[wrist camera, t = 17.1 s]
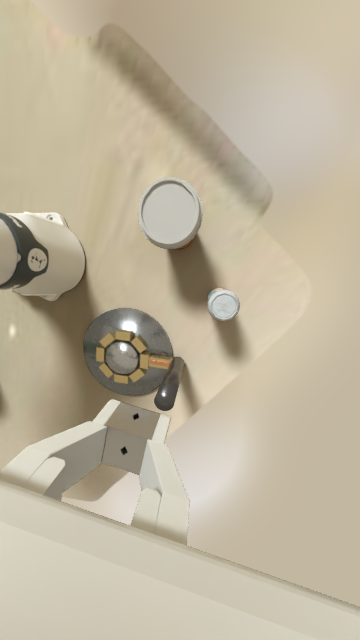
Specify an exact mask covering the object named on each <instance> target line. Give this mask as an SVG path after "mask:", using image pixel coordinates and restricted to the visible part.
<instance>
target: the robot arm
mask: <svg viewBox="0 0 360 640" xmlns="http://www.w3.org/2000/svg"><path fill="white" fill-rule="evenodd" d="M52 218H53V220H52ZM84 269H85V256H84V252H83V249H82V246H81V244H80V242H79V241H78V239H77V238H76V236H75V235H74V234H73V233H72V232H71V231H70V230H69V228H68V227H67V224H66V222H65V220H64V218H63V216H62V215H60V214H57V213H29V212H24V213H4V212H1V211H0V289H1V290H4V289H12V291H13V292H15V293H21V295H25V296H31V295H38V296H40V297H42V298H44V299H46V300H48V301H55V300H57V299H58V298H59V297H60V295H61V294H62V293H64V292H66V291H68V290H70V289H72V288H74V287H75V286H76V285H77V284H78V283H79V281H80V280H81V278H82V276H83V273H84ZM170 420H171V416H168V415H164V414H159V413H156V412H153V411H149V410H146V409H142V408H139V407H136V406H133V405H130V404H127V403H124V402H121V401H117V400H114V399H111V400H109V402H108V403H107V404H106V405H105V407H104V408H103V409H102V410H101V411H100V413H99V414H98V415H97V416H96V418H95V419H94V420H93V421H92V422H91V421H87V422H85V423H83V424H80V425H78V426H75V427H73V428H71V429H68V430H66V431H63V432H61V433H58V434H56V435H54V436H51V437H49V438H46V439H44V440H42V441H39V442H37V443H34V444H32V445H29V446H27V447H26V448H25V449H24V450H23V451H22V452H21V453H20V454H18V455H17V456H16V457H15V458H14V459H13V460H12V461H11V462H10V463H9V464H8V465H6V466H5V467H4V468H3V469H2V470H1V471H0V640H360V607H359V606H356V605H353V604H350V603H348V602H345V601H342V600H339V599H336V598H333V597H331V596H327V595H325V594H322V593H319V592H316V591H314V590H311V589H308V588H305V587H302V586H299V585H296V584H294V583H291V582H288V581H285V580H282V579H280V578H277V577H274V576H271V575H268V574H265V573H263V572H260V571H257V570H254V569H251V568H248V567H246V566H243V565H240V564H237V563H234V562H231V561H229V560H226V559H223V558H220V557H217V556H215V555H212V554H209V553H206V552H203V551H200V550H198V549H195V548H192V547H189V546H187V531H188V519H189V506H190V500H189V498H188V495H187V493H186V491H185V488H184V485H183V483H182V480H181V478H180V475H179V473H178V470H177V468H176V465H175V463H174V460H173V458H172V456H171V453H170V451H169V448H168V446H167V445H165V444H164V443H165V439H166V436H167V432H168V428H169V424H170ZM101 463H104V464H107V465H111V466H114V467H118V468H121V469H124V470H126V471H129V472H132V473H135V474H137V475H139V478H140V485H141V491H142V492H141V495H140V498H139V501H138V504H137V507H136V510H135V513H134V517H133V520H132V523H131V526H129V525H126V524H124V523H121V522H118V521H115V520H112V519H109V518H106V517H104V516H101V515H98V514H95V513H92V512H89V511H87V510H84V509H81V508H78V507H75V506H73V505H70V504H67V503H64V502H61V498H62V493H63V492H64V491H66V490H67V489H68V488H70V487H71V486H72V485H74V484H75V483H76V482H78V481H79V480H80V479H82V478H83V477H84V476H86V475H87V474H88V473H90V472H91V471H92V470H94V469H95V468H96V467H98V466H99V465H100V464H101Z"/></svg>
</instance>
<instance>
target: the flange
mask: <svg viewBox="0 0 360 640" xmlns="http://www.w3.org/2000/svg"><path fill="white" fill-rule="evenodd" d="M119 329H123V330H130V331H133V339H135V338H136V337H137V336H138V335H141V337H142V338H143V339H144V340H145V342H146V343H147V344H148V345H149V346H148V347H147V349H145V350H144V351H146V352H151V354H152V355H158V356H165V357H171V358H172V347H171V343H170V340H169V337H168V335H167V333H166V332H165V330H164V329H163V327H162V326H161V325H160V324H159V323H158V322H157V321H156V320H155V319H154V318H153V317H151V316H150V315H148V314H146V313H144V312H142V311H139V310H136V309H131V308H118V309H114V310H110V311H108V312H105V313H104V314H102V315H100V316H99V317H98V318H96V319H95V320H94V321H93V322H92V324H91V325H90V327H89V328H88V330H87V332H86V335H85V339H84V356H85V360H86V363H87V366H88V368H89V370H90V371H91V373H92V374H93V376H94V377H95V378H96V379H97V380H98V381H99V382H100V383H101V384H102V385H103V386H105V387H106V388H108V389H109V390H111V391H113V392H116V393H119V394H123V395H129V396H135V395H142V394H145V393H148V392H150V391H152V390H154V389H155V388H157V387H158V386H159V385H160V384H161V383H162V381H163V378H164V376H165V374H166V371H167V369H163V368H156V367H150V366H149V368H148V369H146V370H147V372H146V373H145V375H144V376H142V377H141V378H140V379H138V380H137V381H135V382H133V381H132V380H130V382H129V383H128V384H125V383H119V382H114V374H115V373H116V372H117V373H120V374H127V373H132V372H133V371H135V370H136V369H137V368H139V367H140V355H141V353H142V352H141V353H140V352H139V351H138V350H137V349H136V347H135V346H134V345H133V344H132V343H131V341H132V340H133V339H132V340H131V341H125V340H118V339H115V340H114V341H113V342H112V343H111V344H109V345H108V350H107V352H106V361H107V364H108V365H109V367H110V368H111V369H112V370H113V371H115V373H114V374H113V375H111V376H110V377H109V378H107V376H106V375H105V374H104V373H103V372H102V371H101V369H100V368H99V367H100V366H101V365H102V364H103V363H105V362H106V361H105V362H100V361H96V347H98V346H99V345H102V344H101V343H100V342H99V341H100V340H101V339H103V338H104V337H105V336H106V335H107V334H109V333H110V332H112V331H114V332H115V333H116V331H117V330H119Z"/></svg>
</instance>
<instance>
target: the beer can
mask: <svg viewBox="0 0 360 640" xmlns="http://www.w3.org/2000/svg"><path fill="white" fill-rule="evenodd" d="M207 302H208V311H209V313H210V314H211V316H212V317H213V318H215V319H216V320H219V321H228V320H231V319H232V318H234V317H235V316H236V315H237V313H238V311H239V308H240V302H239V299H238V297H237V296H236V295H235V294H234V293H233V292H231V291H229V290H226V289H224V288H215V289H213V290H212V291H211V292H210V293H209V295H208V298H207Z"/></svg>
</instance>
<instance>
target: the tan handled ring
mask: <svg viewBox="0 0 360 640" xmlns="http://www.w3.org/2000/svg"><path fill="white" fill-rule="evenodd" d="M115 339H118V340H125V341H131V340H132V339H133V331H130V330H123V329H119V330H117V331H116V333H115V332H114V331H112V332H110V333H109V334H107V335H106V336H105V337H104V338H103V339H101V340H100V341H99V342H100V343H101V344H102V345H99V346H98V347H96V361H100V362H105V361H106V352H107V350H108V345H109V344H111V343H112V342H113V341H114V340H115ZM131 343H132V344H133V345H134V346H135V347H136V349H137V350H138V351H139V352H140V353H141V352H142V353H141V355H140V367H139V368H137V369H136V370H135V371H133V372H132V373H127V374H120V373H117V372H116V373H115V371H113V370H112V369H111V368H110V367H109V365H108V364H107V361H106V362H105V363H103V364H102V365H101V366H100V367H99V368H100V369H101V371H102V372H103V373H104V374H105V375H106V376H107V378H109V377H110V376H111V375H113V374H114V373H115V374H114V382H119V383H125V384H128V383H129V382H130V380H132V381H133V382H135V381H137V380H138V379H140V378H141V377H142V376H144V375H145V373H146V372H147V370H146V369H148V368H149V366H150V367H156V368H163V369H167V371H166V374H165V376H164V378H163V381H162V383H161V385H160V387H159V390H158V392H157V394H156V397H155V399H154V403H155V405H156V407H157V408H158V409H160V410H162V411H168V410H170V409H172V407H173V406H174V402H175V398H176V394H177V391H178V387H179V383H180V379H181V375H182V371H183V367H184V360H183V359H182V358H180V357H174V358H171V357H165V356H158V355H152V354H151V352H146V351H144V350H145V349H147V347H148V346H149V345H148V344H147V343H146V342H145V340H144V339H143V338H142V337H141V335H138V336H137V337H136V338H135V339H133V340H132V341H131Z"/></svg>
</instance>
